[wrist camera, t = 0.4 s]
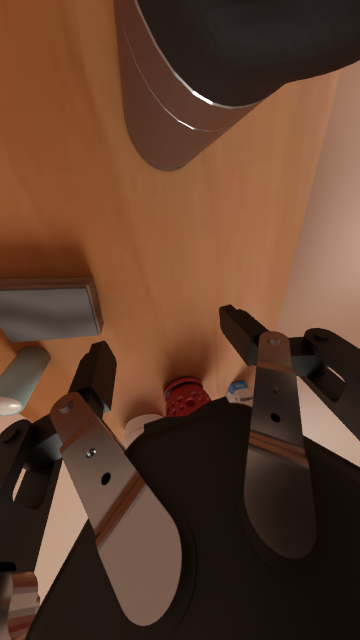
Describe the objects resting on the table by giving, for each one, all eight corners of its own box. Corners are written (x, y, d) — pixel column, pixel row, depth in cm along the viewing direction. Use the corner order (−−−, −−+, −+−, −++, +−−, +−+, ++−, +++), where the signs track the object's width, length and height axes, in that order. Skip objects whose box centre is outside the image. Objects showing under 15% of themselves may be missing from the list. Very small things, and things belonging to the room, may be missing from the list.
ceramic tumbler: (13, 348, 30) (-31, 399, 22) (44, 345, 32) (14, 393, 23) (25, 367, 33) (-10, 419, 25) (54, 363, 34) (29, 412, 26)
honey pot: (122, 418, 51) (118, 503, 36) (165, 410, 54) (177, 486, 39) (126, 438, 58) (124, 516, 43) (163, 430, 61) (173, 500, 46)
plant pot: (173, 406, 53) (182, 450, 44) (152, 386, 46) (158, 435, 36) (210, 387, 52) (228, 428, 43) (195, 365, 45) (212, 408, 35)
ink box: (231, 382, 53) (252, 420, 44) (244, 380, 55) (268, 416, 45) (224, 398, 58) (242, 435, 48) (236, 396, 59) (256, 432, 50)
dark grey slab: (-6, 278, 24) (-28, 289, 21) (92, 276, 27) (87, 286, 24) (22, 329, 29) (8, 344, 26) (103, 323, 32) (100, 336, 29)
